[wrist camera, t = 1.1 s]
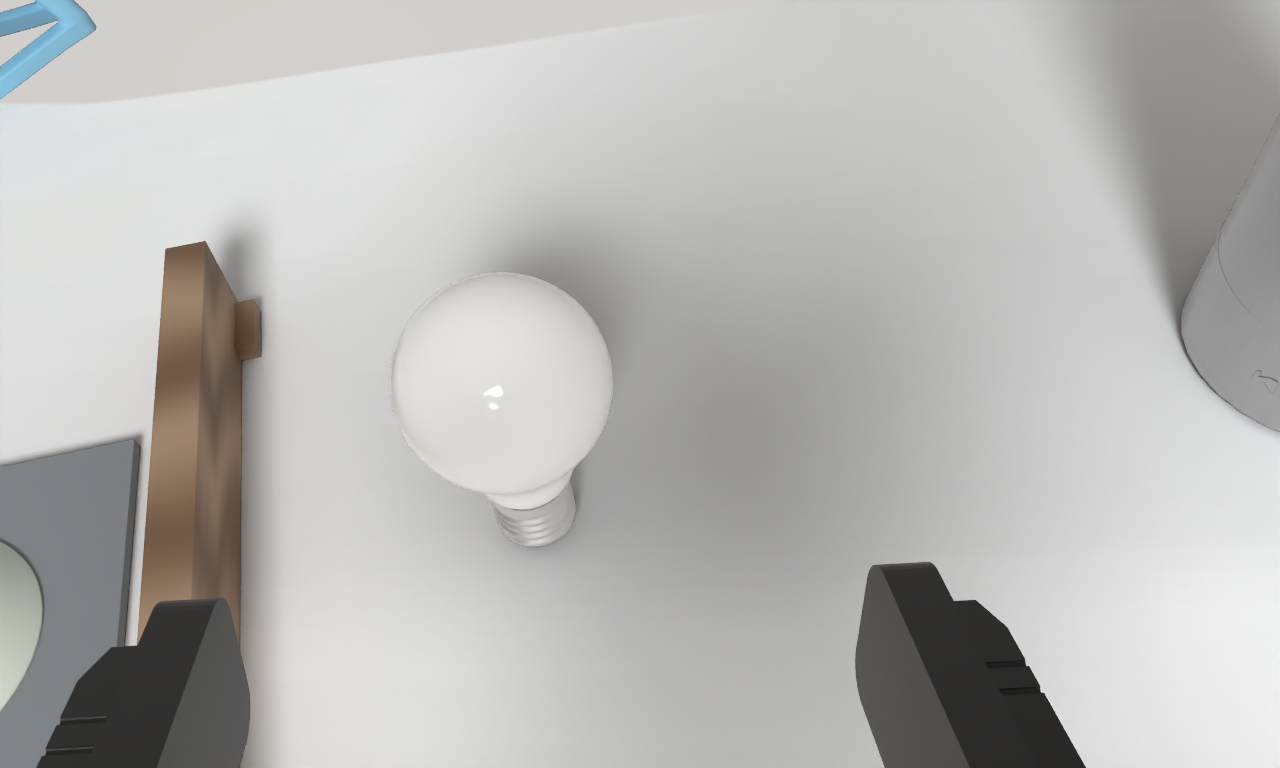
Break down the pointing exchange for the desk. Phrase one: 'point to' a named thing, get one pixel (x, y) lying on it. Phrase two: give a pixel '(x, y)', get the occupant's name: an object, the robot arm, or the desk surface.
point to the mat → (60, 583)
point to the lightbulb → (504, 395)
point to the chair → (41, 37)
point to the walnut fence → (197, 436)
